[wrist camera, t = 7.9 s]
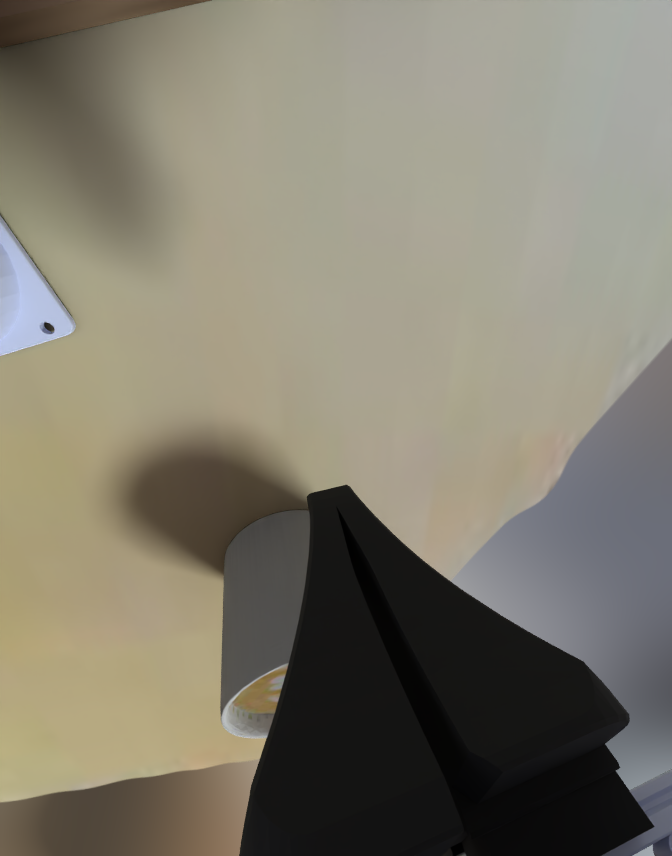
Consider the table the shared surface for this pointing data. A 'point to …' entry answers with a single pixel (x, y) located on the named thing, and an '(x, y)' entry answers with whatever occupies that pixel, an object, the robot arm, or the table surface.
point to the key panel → (70, 15)
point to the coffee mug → (261, 617)
